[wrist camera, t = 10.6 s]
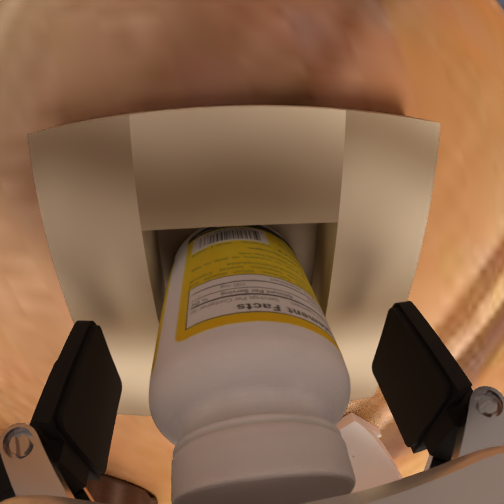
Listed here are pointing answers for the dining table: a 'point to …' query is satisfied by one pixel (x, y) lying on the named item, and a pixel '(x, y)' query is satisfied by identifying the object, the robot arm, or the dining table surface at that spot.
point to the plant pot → (117, 492)
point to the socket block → (234, 213)
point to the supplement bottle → (248, 375)
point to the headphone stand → (367, 453)
